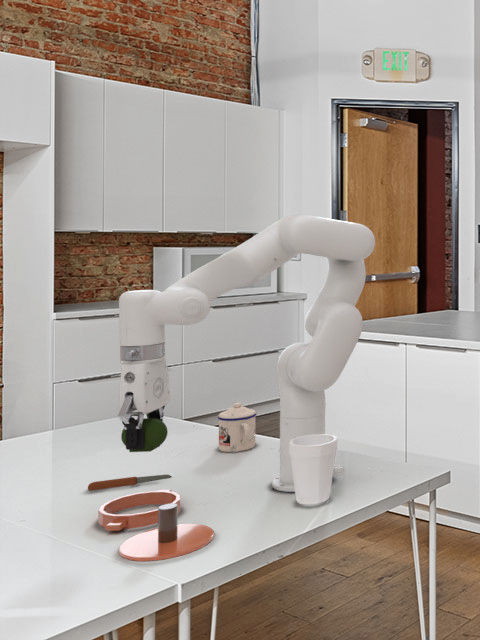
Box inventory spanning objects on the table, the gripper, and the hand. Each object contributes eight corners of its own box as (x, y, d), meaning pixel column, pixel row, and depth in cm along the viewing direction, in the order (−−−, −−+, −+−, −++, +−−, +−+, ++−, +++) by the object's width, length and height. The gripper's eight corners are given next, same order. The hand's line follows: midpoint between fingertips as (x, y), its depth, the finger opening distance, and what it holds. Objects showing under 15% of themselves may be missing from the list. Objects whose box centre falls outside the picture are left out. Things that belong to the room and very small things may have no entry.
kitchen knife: (87, 493, 158) (87, 483, 158) (88, 491, 159) (88, 482, 159) (172, 481, 166) (172, 473, 166) (172, 480, 167) (172, 471, 167)
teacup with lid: (212, 447, 193) (212, 403, 192) (248, 440, 199) (249, 397, 199) (228, 457, 184) (229, 411, 184) (266, 450, 191) (266, 405, 190)
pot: (199, 499, 155) (199, 485, 155) (150, 536, 136) (151, 520, 136) (131, 501, 154) (131, 487, 154) (73, 538, 135) (73, 522, 135)
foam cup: (322, 490, 161) (322, 431, 161) (345, 500, 155) (346, 439, 155) (280, 502, 153) (280, 440, 153) (303, 513, 147) (303, 449, 147)
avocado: (173, 443, 148) (173, 414, 148) (158, 453, 142) (157, 422, 142) (132, 445, 148) (131, 415, 148) (114, 454, 142) (114, 423, 142)
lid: (227, 529, 139) (227, 491, 139) (190, 563, 125) (190, 521, 125) (147, 531, 138) (147, 493, 138) (100, 565, 124) (100, 523, 124)
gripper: (138, 360, 136) (140, 456, 137) (184, 345, 153) (186, 431, 154) (96, 361, 136) (98, 458, 136) (146, 346, 153) (148, 432, 153)
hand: (144, 442), depth 145 cm, fingers closed on avocado, 6 cm apart
